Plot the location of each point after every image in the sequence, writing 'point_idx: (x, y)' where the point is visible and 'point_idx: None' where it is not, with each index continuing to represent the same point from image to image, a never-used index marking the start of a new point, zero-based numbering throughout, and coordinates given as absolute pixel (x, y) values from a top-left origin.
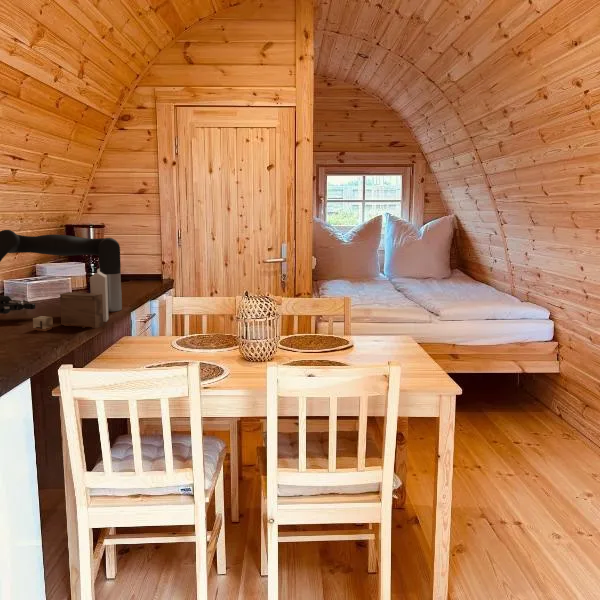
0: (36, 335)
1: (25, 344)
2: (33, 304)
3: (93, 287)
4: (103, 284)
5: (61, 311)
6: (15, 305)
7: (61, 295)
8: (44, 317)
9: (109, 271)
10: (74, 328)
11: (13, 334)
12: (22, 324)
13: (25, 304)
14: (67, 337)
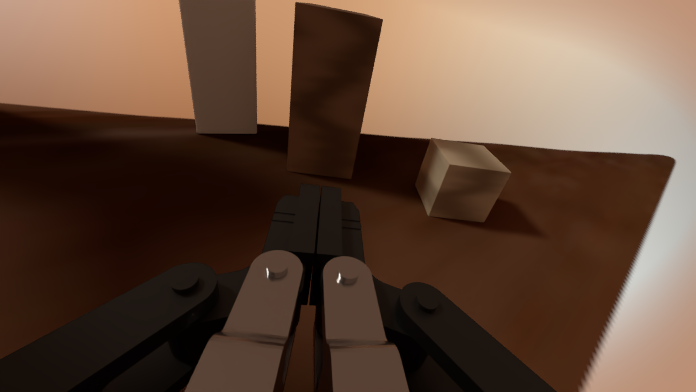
0: (517, 194)
1: (593, 184)
2: (328, 187)
3: None
4: None
5: (362, 116)
6: (481, 345)
7: (380, 27)
8: (460, 151)
9: None
10: (372, 149)
11: (587, 257)
12: None
13: (342, 256)
14: None
